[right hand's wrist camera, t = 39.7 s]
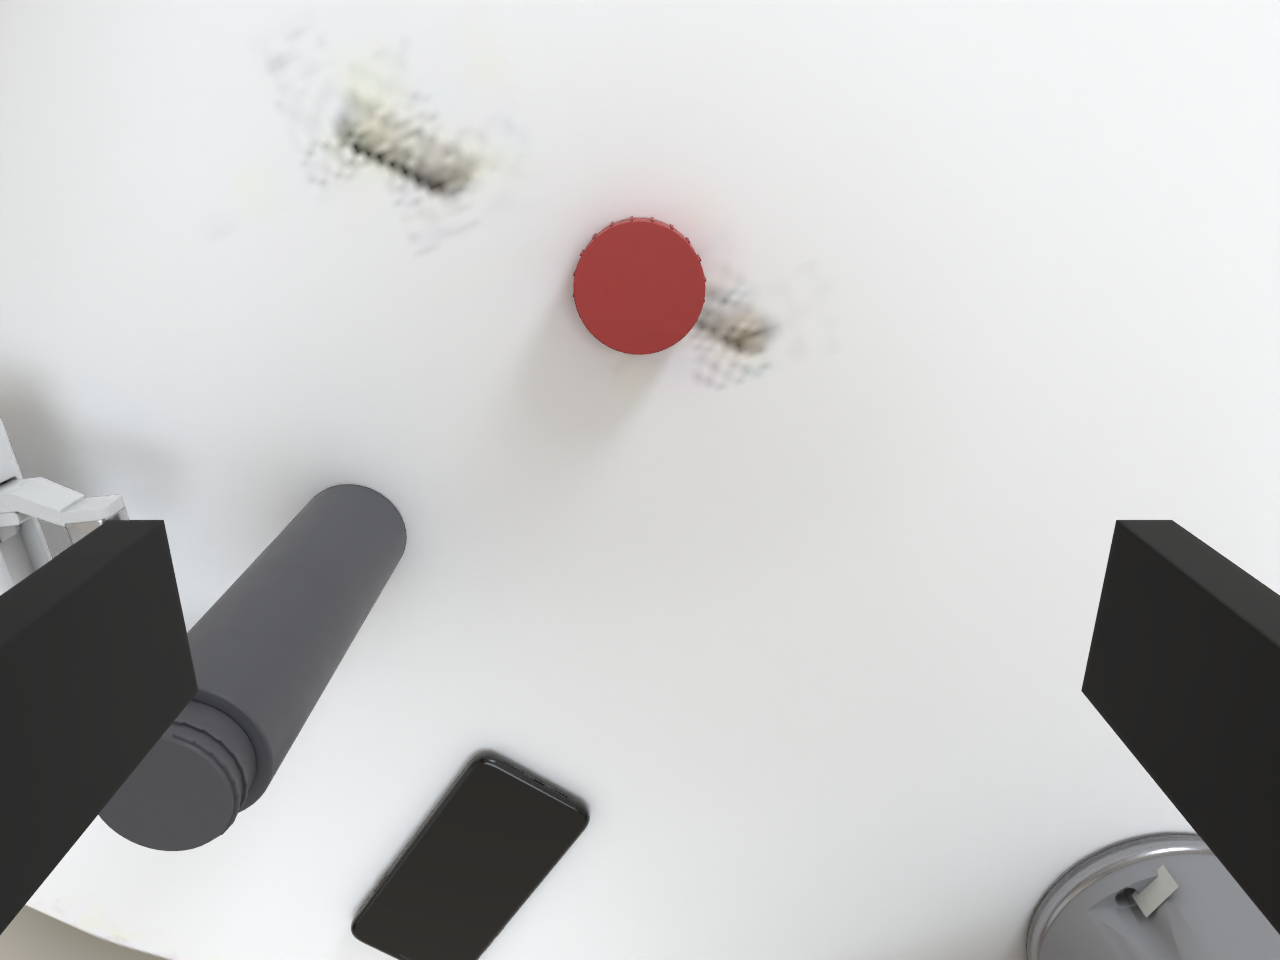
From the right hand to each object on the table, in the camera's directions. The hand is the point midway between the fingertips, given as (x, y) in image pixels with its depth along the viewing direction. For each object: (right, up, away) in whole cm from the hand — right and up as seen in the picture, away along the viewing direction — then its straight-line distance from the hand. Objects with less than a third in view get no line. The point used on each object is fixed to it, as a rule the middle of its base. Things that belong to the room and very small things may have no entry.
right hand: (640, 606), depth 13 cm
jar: (-15, -1, +33) cm, 36 cm away
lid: (0, +10, +27) cm, 29 cm away
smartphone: (-10, -21, +41) cm, 47 cm away
